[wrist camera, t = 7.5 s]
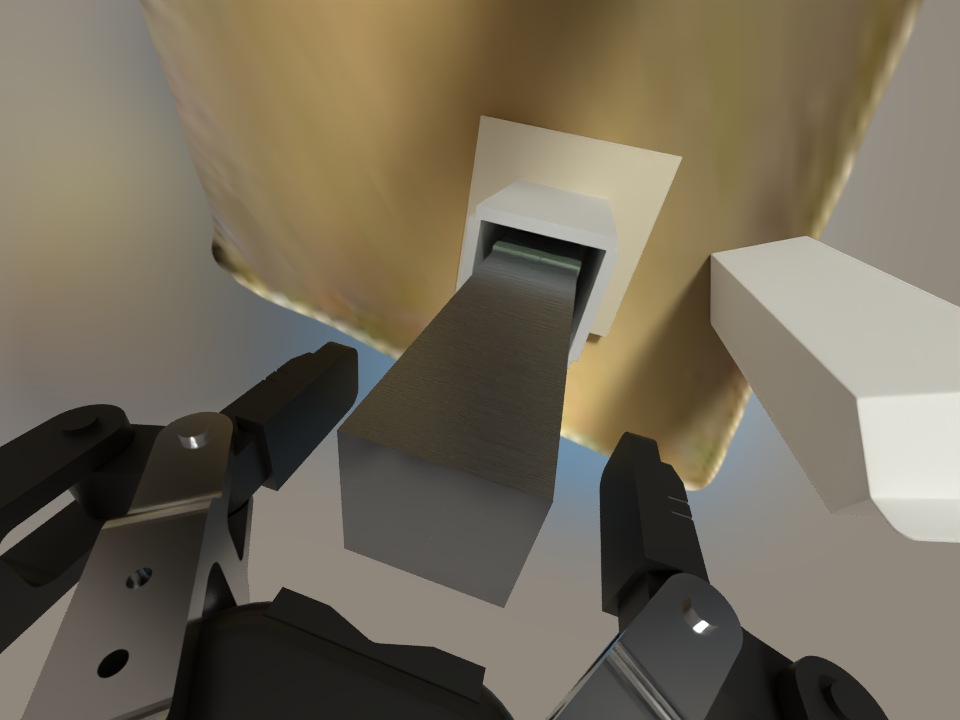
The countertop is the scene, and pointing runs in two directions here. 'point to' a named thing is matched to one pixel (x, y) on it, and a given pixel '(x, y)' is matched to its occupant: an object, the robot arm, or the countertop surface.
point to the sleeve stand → (567, 208)
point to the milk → (850, 378)
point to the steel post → (468, 427)
